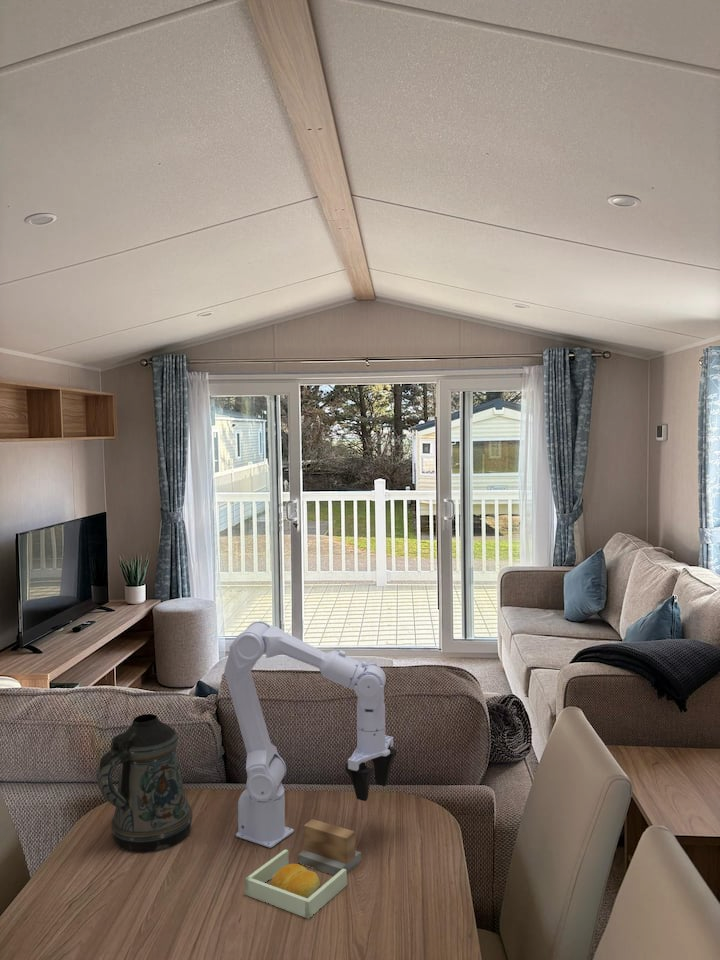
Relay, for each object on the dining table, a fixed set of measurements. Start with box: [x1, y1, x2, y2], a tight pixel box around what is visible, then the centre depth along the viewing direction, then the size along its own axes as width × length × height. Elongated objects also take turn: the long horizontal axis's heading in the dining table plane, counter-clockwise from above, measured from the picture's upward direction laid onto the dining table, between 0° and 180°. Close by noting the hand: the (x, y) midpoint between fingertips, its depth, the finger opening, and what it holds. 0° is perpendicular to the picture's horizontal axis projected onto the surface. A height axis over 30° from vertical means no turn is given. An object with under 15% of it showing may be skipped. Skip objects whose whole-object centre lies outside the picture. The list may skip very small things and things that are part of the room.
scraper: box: [297, 818, 362, 876], centre depth 157 cm, size 10×7×7 cm
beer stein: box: [96, 713, 193, 854], centre depth 167 cm, size 16×19×25 cm
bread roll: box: [270, 863, 321, 899], centre depth 148 cm, size 8×9×4 cm
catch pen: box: [244, 849, 348, 920], centre depth 148 cm, size 14×12×3 cm
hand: (371, 791), depth 164 cm, fingers open, 7 cm apart
